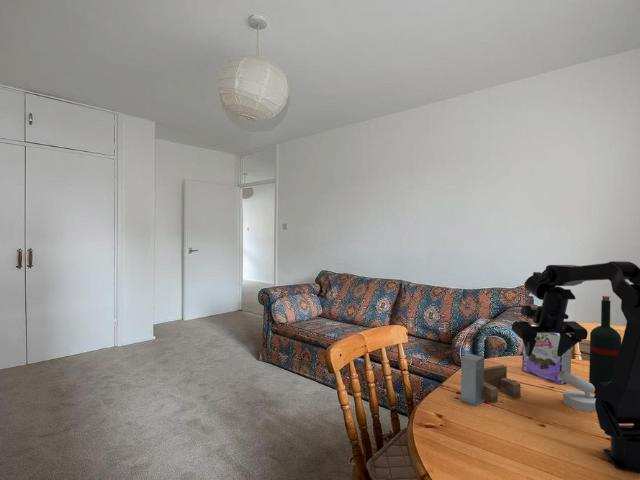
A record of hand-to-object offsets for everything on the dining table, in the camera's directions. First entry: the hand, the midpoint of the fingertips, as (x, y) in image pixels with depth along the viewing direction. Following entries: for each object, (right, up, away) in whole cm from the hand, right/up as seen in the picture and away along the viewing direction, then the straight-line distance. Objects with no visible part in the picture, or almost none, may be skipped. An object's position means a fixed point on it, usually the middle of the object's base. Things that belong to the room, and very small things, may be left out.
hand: (543, 355), depth 103 cm
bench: (-11, -14, +5) cm, 18 cm away
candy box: (+13, -14, +20) cm, 28 cm away
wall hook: (+10, -14, -1) cm, 17 cm away
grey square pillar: (-20, -14, +1) cm, 25 cm away
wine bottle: (+25, -14, +7) cm, 29 cm away
